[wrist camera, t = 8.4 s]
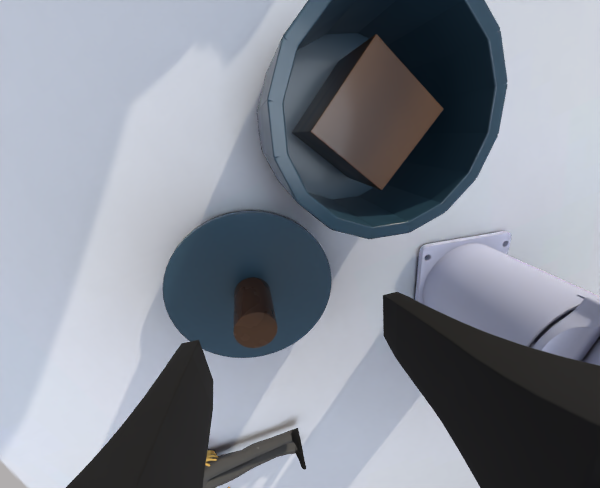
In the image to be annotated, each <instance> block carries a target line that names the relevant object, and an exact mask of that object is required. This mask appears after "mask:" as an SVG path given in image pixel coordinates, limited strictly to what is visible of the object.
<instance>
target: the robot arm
mask: <svg viewBox="0 0 600 488" xmlns="http://www.w3.org/2000/svg"><path fill="white" fill-rule="evenodd" d="M511 236H512V235H511V233H510V232H507V231H501V232H495V233H489V234H483V235H477V236H471V237H465V238H459V239H454V240H448V241H442V242H436V243H430V244H425V245H423V246H422V247H421V248H420V251H419V262H418V273H417V284H416V295H415V300H414V299H412V298H410V297H408V296H405V295H403V294H401V293H399V292H395V293H391V294H387V295H383V322H384V337H385V339H386V341H387V343H388V345H389V346H390V348H391V350H392V352H393V354H394V355H395V357H396V359H397V360H398V362H399V363H400V364H401V366H402V367H403V369H404V370H405V371H406V373H407V374H408V376H409V377H410V378H411V380H412V381H413V382H414V384H415V385H416V386H417V388H418V389H419V391H420V392H421V393H422V395H423V396H424V397H425V399H426V400H427V401H428V403H429V404H430V406H431V407H432V408H433V410H434V411H435V413H436V414H437V416H438V417H439V419H440V420H441V421H442V423H443V425H444V426H445V428H446V430H447V431H448V433H449V435H450V436H451V438H452V440H453V441H454V443H455V444H456V446H457V448H458V449H459V451H460V453H461V455H462V456H463V458H464V460H465V461H466V463H467V465H468V467H469V468H470V470H471V472H472V474H473V475H474V477H475V479H476V481H477V482H478V484H479V486H480V488H600V296H599V295H596V294H594V293H592V292H590V291H587V290H585V289H583V288H581V287H578V286H576V285H574V284H572V283H569V282H567V281H565V280H563V279H560V278H558V277H556V276H554V275H552V274H549V273H547V272H545V271H543V270H540V269H538V268H536V267H534V266H531V265H529V264H527V263H525V262H522V261H520V260H518V259H516V258H513V257H511V256H509V255H508V250H509V246H510V241H511ZM426 255H427V257H426V258H425V256H426ZM424 258H425V259H424ZM212 411H213V379H212V376H211V373H210V370H209V367H208V364H207V361H206V359H205V356H204V353H203V350H202V347H201V344H200V341H199V340H195V341H191V342H187V343H182V344H181V345H180V347H179V348H178V349H177V351H176V352H175V354H174V355H173V357H172V358H171V359H170V361H169V362H168V364H167V365H166V367H165V368H164V370H163V371H162V373H161V374H160V375H159V377H158V378H157V380H156V381H155V382H154V384H153V385H152V387H151V388H150V389H149V391H148V392H147V394H146V395H145V396H144V398H143V399H142V400H141V402H140V403H139V404H138V406H137V407H136V408H135V409H134V411H133V412H132V413H131V415H130V416H129V417H128V418H127V420H126V421H125V422H124V424H123V425H122V426H121V427H120V428H119V430H118V431H117V432H116V433H115V434H114V436H113V437H112V438H111V439H110V440H109V442H108V443H107V444H106V445H105V446H104V447H103V448H102V449H101V451H100V452H99V453H98V454H97V455H96V456H95V457H94V458H93V460H92V461H91V462H90V463H89V464H88V465H87V466H86V467H85V468H84V469H83V470H82V471H81V472H80V473H79V475H78V476H77V477H76V478H75V479H74V480H73V481H72V482H71V483H70V484H69V485H68V486H67V487H66V488H203V479H204V472H205V464H206V457H207V450H208V442H209V435H210V427H211V419H212Z"/></svg>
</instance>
